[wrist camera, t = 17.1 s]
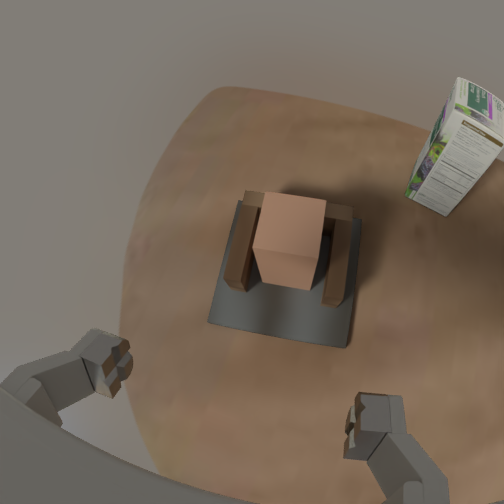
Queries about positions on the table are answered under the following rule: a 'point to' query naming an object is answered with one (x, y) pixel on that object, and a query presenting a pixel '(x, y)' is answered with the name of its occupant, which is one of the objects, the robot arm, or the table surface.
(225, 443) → the table surface
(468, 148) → the syrup box
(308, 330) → the stop cradle
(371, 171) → the table surface
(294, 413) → the table surface
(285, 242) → the block
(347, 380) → the table surface
